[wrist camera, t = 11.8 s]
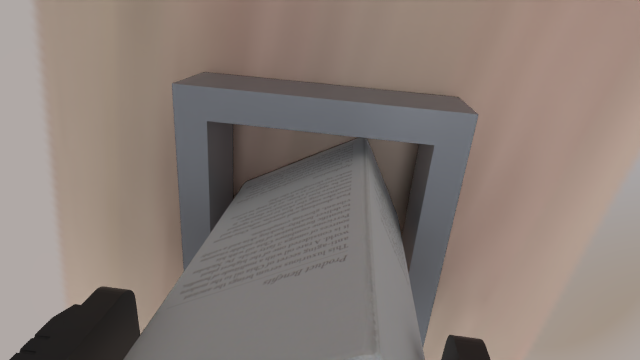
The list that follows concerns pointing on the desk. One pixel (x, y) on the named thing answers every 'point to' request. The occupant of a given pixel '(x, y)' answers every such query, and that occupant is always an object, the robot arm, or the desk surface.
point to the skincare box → (296, 272)
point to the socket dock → (329, 118)
